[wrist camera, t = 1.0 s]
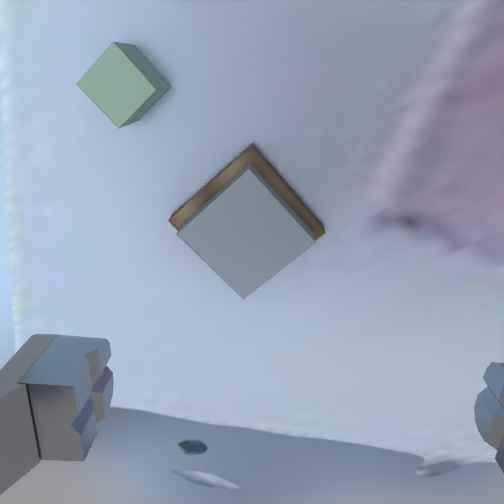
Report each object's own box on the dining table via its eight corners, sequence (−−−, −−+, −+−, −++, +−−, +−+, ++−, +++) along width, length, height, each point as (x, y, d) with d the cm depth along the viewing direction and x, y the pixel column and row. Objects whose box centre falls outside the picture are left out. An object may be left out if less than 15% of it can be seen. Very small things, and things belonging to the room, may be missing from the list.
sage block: (134, 45, 41) (113, 41, 36) (171, 86, 42) (156, 89, 37) (101, 81, 43) (75, 83, 37) (137, 120, 44) (118, 128, 38)
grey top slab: (250, 162, 43) (248, 169, 40) (313, 231, 45) (316, 242, 43) (182, 224, 46) (176, 234, 43) (245, 286, 48) (243, 299, 46)
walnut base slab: (252, 142, 45) (251, 146, 42) (322, 223, 48) (325, 232, 45) (174, 212, 48) (168, 220, 46) (243, 283, 52) (242, 295, 49)
